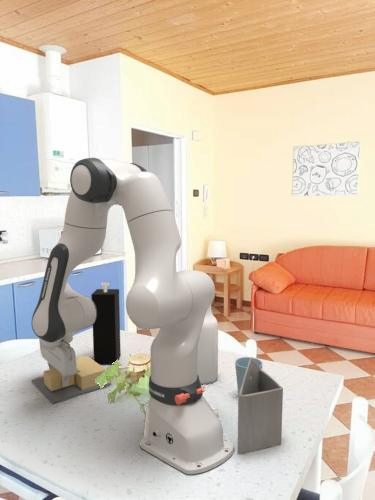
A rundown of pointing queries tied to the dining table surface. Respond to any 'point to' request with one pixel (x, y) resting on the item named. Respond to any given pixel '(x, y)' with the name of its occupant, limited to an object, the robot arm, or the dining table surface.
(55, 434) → the dining table surface
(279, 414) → the planter
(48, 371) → the small cardboard box
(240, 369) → the cup
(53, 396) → the tan block on base
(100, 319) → the black square bottle
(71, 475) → the dining table surface
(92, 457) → the dining table surface
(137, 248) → the robot arm
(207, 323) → the alcohol
